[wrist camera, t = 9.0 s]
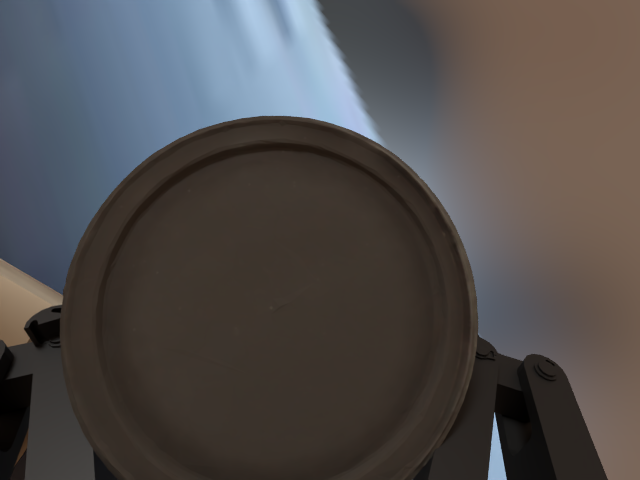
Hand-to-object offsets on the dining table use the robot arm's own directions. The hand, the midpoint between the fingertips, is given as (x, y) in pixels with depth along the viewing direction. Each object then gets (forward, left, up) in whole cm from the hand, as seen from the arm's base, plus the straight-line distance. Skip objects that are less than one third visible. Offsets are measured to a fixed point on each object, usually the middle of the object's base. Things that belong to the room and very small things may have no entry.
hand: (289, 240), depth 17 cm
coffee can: (-3, -1, -6) cm, 7 cm away
